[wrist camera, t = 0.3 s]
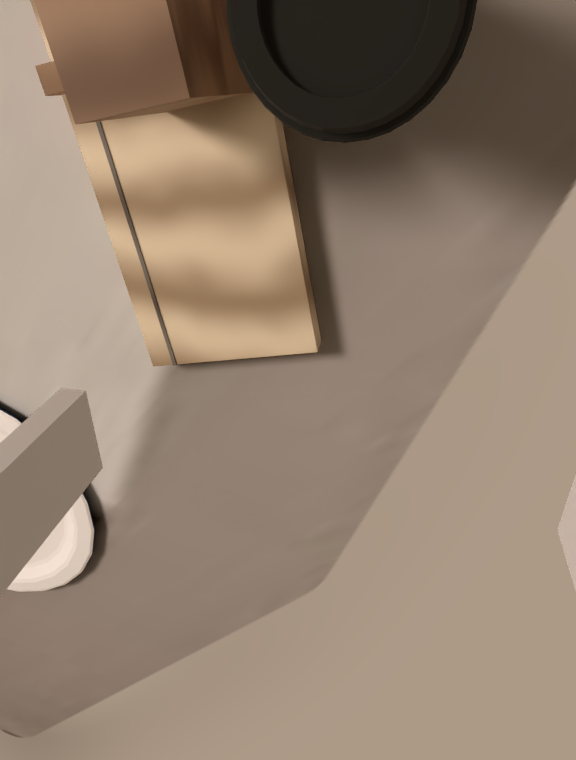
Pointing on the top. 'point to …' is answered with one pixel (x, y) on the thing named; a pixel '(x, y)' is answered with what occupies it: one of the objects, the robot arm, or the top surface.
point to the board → (204, 229)
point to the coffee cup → (348, 59)
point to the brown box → (138, 56)
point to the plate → (55, 540)
